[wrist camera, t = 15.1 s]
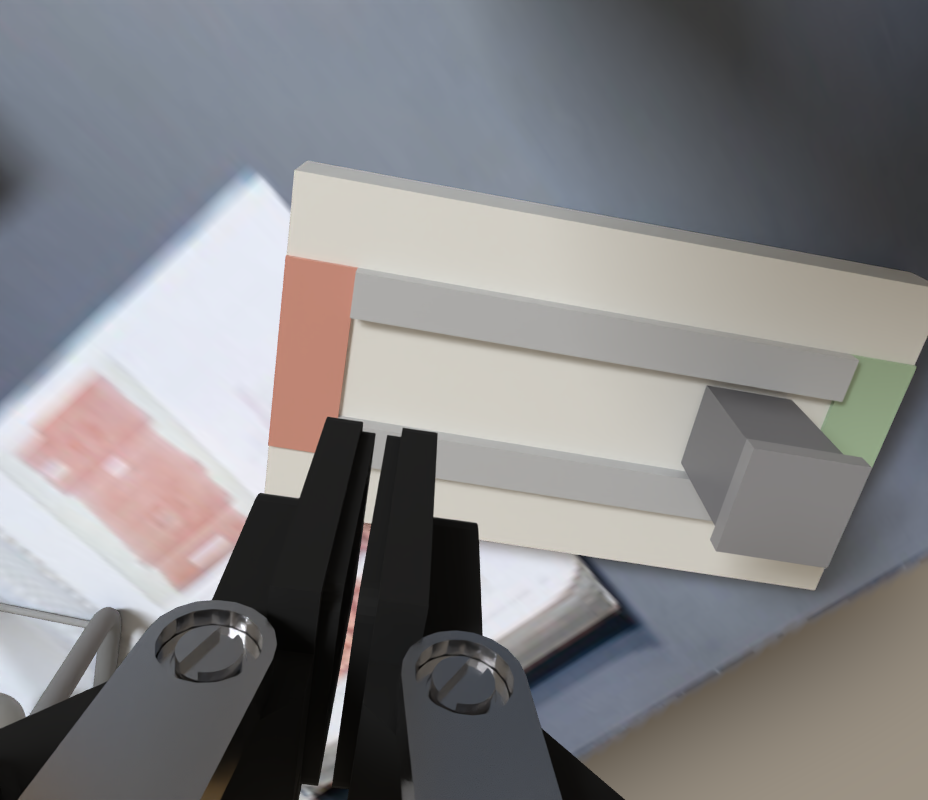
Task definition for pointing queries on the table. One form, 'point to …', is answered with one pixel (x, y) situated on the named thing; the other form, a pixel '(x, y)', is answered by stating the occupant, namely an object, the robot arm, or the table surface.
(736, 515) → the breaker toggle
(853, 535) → the table surface
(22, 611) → the newton's cradle
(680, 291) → the slider rail board
